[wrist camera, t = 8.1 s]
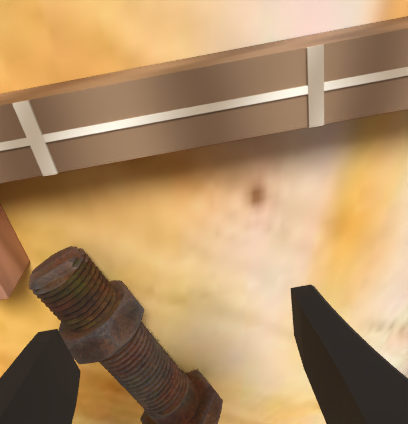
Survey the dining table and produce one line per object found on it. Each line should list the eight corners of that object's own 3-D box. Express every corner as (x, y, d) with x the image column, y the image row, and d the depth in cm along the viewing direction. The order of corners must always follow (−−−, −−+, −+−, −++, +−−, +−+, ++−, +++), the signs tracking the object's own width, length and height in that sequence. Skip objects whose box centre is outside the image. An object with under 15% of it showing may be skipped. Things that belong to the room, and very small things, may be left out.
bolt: (81, 220, 22) (195, 367, 29) (6, 274, 21) (144, 416, 27) (106, 248, 17) (237, 418, 24) (9, 321, 16) (177, 481, 22)
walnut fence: (502, -2, 16) (569, -2, 13) (462, 185, 20) (506, 214, 17) (-95, 112, 16) (-148, 133, 14) (-5, 267, 21) (-31, 306, 18)
